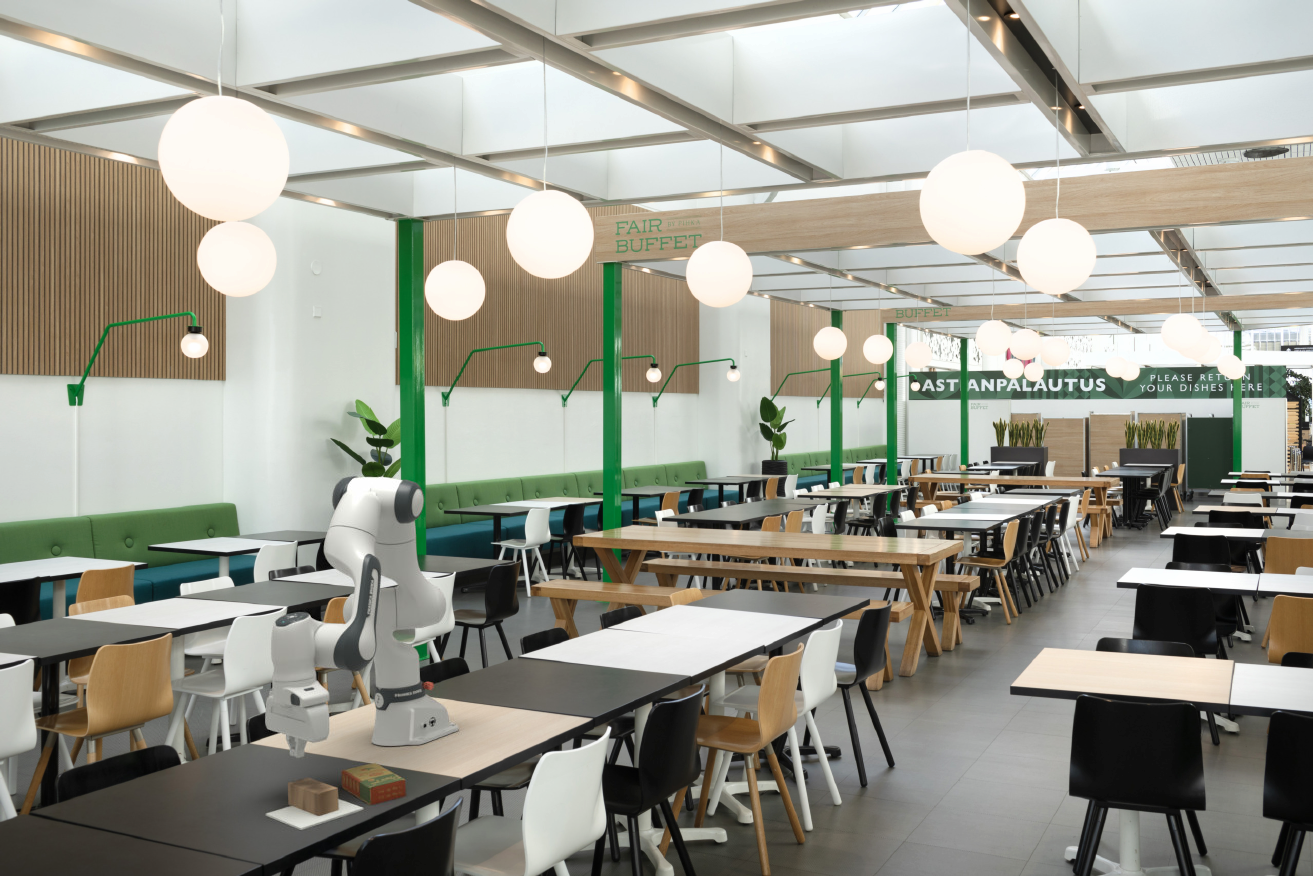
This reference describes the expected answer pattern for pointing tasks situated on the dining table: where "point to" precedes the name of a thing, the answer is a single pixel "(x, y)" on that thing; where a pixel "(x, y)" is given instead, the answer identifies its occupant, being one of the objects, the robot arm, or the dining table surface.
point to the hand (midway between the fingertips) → (297, 756)
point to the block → (313, 796)
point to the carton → (373, 783)
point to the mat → (311, 815)
